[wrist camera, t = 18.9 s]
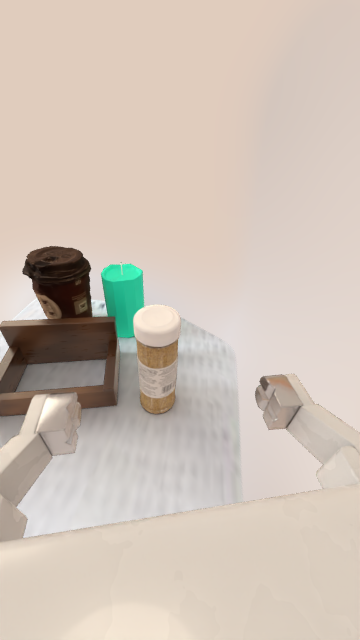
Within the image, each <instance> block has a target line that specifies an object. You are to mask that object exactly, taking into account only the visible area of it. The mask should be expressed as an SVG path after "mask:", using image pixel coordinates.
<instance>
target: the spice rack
mask: <svg viewBox="0 0 360 640" xmlns="http://www.w3.org/2000/svg"><path fill="white" fill-rule="evenodd" d="M0 330H1V332H2V334H3V336H4V338H5V340H6V342H7V344H8V346H9V349H8V351H7V352H6V354H5V356H4V358H3V359H2V361H1V363H0V416H10V415H20V414H27V411H28V408H29V406H30V403H31V400H32V398H33V397H34V396H35V395H40V394H55V393H70V392H76V394H77V396H78V398H77V402H79V403H80V405H81V409H83V408H93V407H104V406H114V405H117V393H118V377H119V361H120V349H119V341H118V334H117V326H116V319H115V316H112V317H89V318H65V319H42V320H19V321H3V322H2V323H1V325H0ZM96 359H107V360H106V369H105V377H104V385H98V386H86V387H74V388H62V389H50V390H38V391H26V392H15V390H16V388H17V386H18V384H19V381H20V379H21V377H22V375H23V372H24V370H25V368H26V366H27V364H37V363H52V362H67V361H81V360H96Z"/></svg>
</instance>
